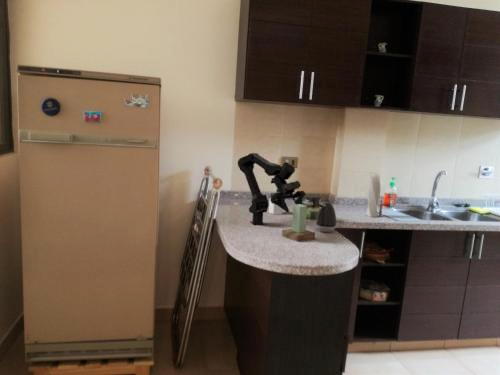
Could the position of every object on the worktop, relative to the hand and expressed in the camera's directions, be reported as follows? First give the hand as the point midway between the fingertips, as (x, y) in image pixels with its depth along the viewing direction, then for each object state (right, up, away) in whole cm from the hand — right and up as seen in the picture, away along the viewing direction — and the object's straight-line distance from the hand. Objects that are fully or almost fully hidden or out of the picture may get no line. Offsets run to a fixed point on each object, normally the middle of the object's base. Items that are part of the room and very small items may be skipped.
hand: (295, 211), depth 186 cm
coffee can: (+14, -8, +41) cm, 44 cm away
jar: (-6, -5, +56) cm, 56 cm away
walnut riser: (+1, -13, -1) cm, 13 cm away
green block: (+1, -9, -1) cm, 10 cm away
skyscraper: (+55, -7, +58) cm, 81 cm away
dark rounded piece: (+17, -11, +14) cm, 25 cm away
